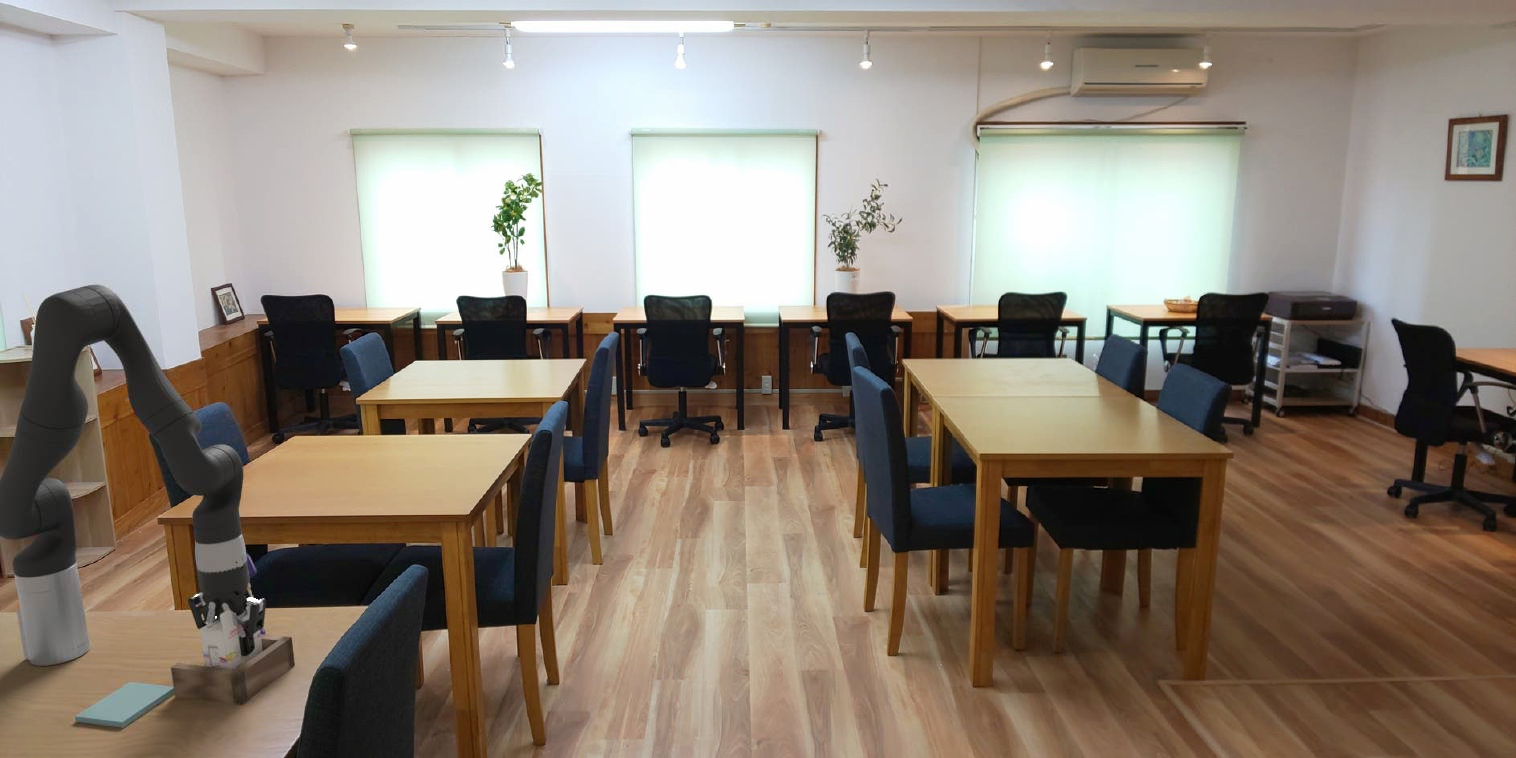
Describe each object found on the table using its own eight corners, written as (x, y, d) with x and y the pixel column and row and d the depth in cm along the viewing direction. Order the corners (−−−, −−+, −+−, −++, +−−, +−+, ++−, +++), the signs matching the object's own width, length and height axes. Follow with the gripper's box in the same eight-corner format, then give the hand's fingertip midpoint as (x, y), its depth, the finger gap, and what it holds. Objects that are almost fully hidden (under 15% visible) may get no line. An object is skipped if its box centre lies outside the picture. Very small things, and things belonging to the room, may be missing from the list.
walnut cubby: (174, 696, 165) (170, 667, 164) (232, 658, 178) (228, 630, 177) (241, 704, 162) (238, 674, 161) (294, 664, 175) (291, 637, 174)
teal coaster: (75, 721, 157) (75, 716, 157) (131, 687, 168) (130, 681, 168) (123, 727, 156) (122, 722, 155) (175, 692, 166) (175, 687, 166)
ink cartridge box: (241, 667, 175) (232, 591, 172) (266, 669, 174) (256, 593, 171) (206, 691, 166) (195, 612, 163) (231, 694, 165) (221, 615, 162)
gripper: (168, 567, 163) (181, 659, 167) (243, 573, 160) (254, 667, 164) (201, 550, 170) (213, 638, 174) (273, 556, 168) (284, 646, 171)
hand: (233, 652), depth 169 cm, fingers closed on ink cartridge box, 5 cm apart
